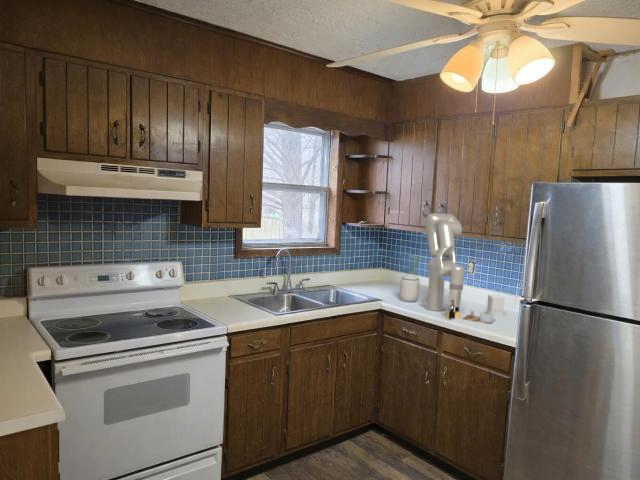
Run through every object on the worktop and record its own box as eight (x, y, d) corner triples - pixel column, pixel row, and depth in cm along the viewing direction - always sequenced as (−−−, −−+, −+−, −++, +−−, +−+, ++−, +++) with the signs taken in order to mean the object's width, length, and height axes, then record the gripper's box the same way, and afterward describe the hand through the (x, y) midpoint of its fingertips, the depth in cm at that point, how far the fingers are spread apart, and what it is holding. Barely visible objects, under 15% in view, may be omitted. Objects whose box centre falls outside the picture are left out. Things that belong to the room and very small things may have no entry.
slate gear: (480, 321, 263) (481, 314, 262) (478, 318, 270) (479, 311, 269) (494, 322, 262) (494, 315, 261) (491, 319, 269) (492, 312, 268)
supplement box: (498, 315, 284) (499, 295, 283) (503, 318, 277) (505, 297, 276) (486, 315, 284) (487, 294, 283) (490, 318, 277) (492, 297, 276)
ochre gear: (445, 318, 270) (446, 312, 269) (449, 316, 276) (449, 309, 275) (458, 321, 266) (458, 314, 265) (461, 318, 272) (462, 312, 271)
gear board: (461, 321, 267) (462, 309, 266) (467, 316, 278) (468, 305, 277) (490, 326, 258) (491, 314, 258) (495, 321, 269) (496, 310, 269)
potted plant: (404, 297, 322) (407, 252, 319) (421, 300, 315) (424, 254, 312) (396, 300, 312) (399, 254, 309) (413, 303, 305) (417, 256, 302)
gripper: (454, 284, 278) (451, 313, 280) (445, 288, 264) (442, 319, 265) (466, 286, 274) (464, 315, 276) (458, 290, 260) (455, 321, 261)
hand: (453, 317), depth 271 cm, fingers closed on ochre gear, 7 cm apart
